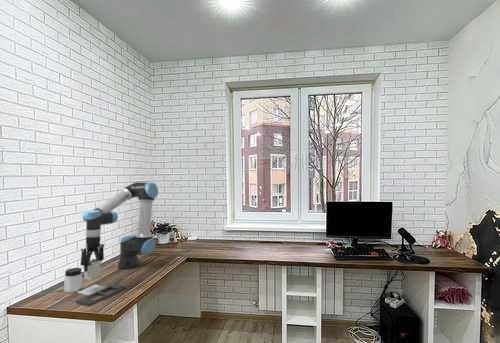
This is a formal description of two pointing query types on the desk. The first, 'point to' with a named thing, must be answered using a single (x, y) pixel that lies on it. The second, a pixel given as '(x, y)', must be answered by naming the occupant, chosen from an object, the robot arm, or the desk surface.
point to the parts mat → (91, 290)
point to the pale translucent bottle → (93, 269)
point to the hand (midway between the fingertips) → (92, 274)
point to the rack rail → (89, 302)
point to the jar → (72, 280)
